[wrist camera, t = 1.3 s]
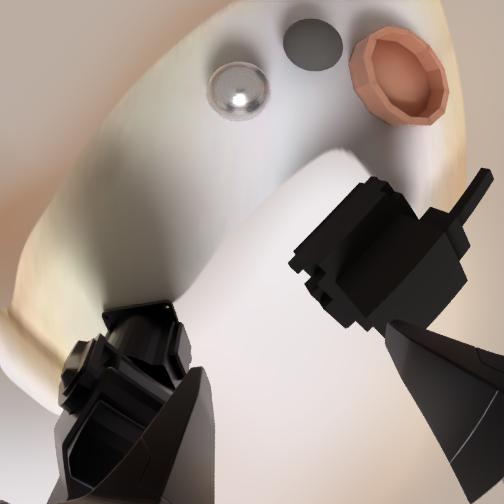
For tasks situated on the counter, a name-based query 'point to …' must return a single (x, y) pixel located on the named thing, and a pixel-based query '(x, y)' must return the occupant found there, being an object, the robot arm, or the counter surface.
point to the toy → (387, 256)
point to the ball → (313, 44)
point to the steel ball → (238, 91)
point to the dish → (399, 78)
